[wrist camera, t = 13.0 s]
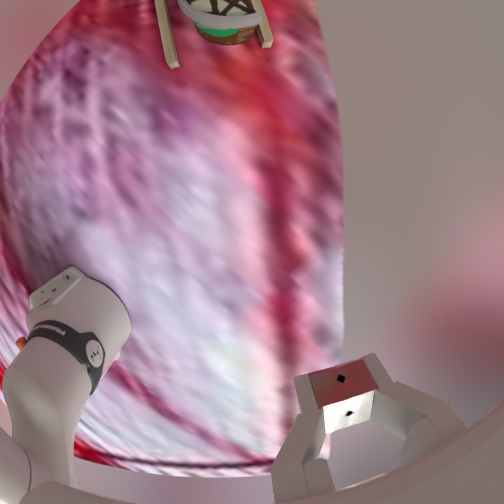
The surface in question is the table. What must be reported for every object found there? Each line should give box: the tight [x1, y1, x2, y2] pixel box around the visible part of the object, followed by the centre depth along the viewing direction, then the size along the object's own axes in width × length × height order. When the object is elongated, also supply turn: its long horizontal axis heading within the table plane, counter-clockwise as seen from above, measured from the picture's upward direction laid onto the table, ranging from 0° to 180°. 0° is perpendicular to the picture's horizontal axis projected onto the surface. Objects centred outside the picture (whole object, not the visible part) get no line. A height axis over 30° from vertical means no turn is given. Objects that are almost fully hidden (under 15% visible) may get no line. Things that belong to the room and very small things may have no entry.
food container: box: [178, 0, 262, 45], centre depth 22 cm, size 12×6×10 cm, turn 32°
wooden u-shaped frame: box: [155, 0, 274, 69], centre depth 24 cm, size 13×16×3 cm
